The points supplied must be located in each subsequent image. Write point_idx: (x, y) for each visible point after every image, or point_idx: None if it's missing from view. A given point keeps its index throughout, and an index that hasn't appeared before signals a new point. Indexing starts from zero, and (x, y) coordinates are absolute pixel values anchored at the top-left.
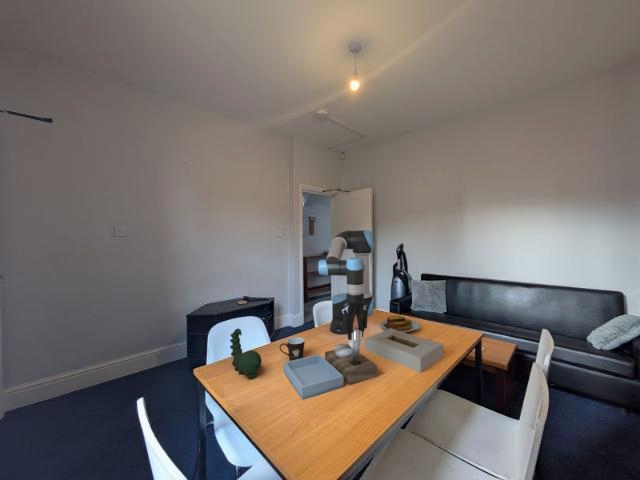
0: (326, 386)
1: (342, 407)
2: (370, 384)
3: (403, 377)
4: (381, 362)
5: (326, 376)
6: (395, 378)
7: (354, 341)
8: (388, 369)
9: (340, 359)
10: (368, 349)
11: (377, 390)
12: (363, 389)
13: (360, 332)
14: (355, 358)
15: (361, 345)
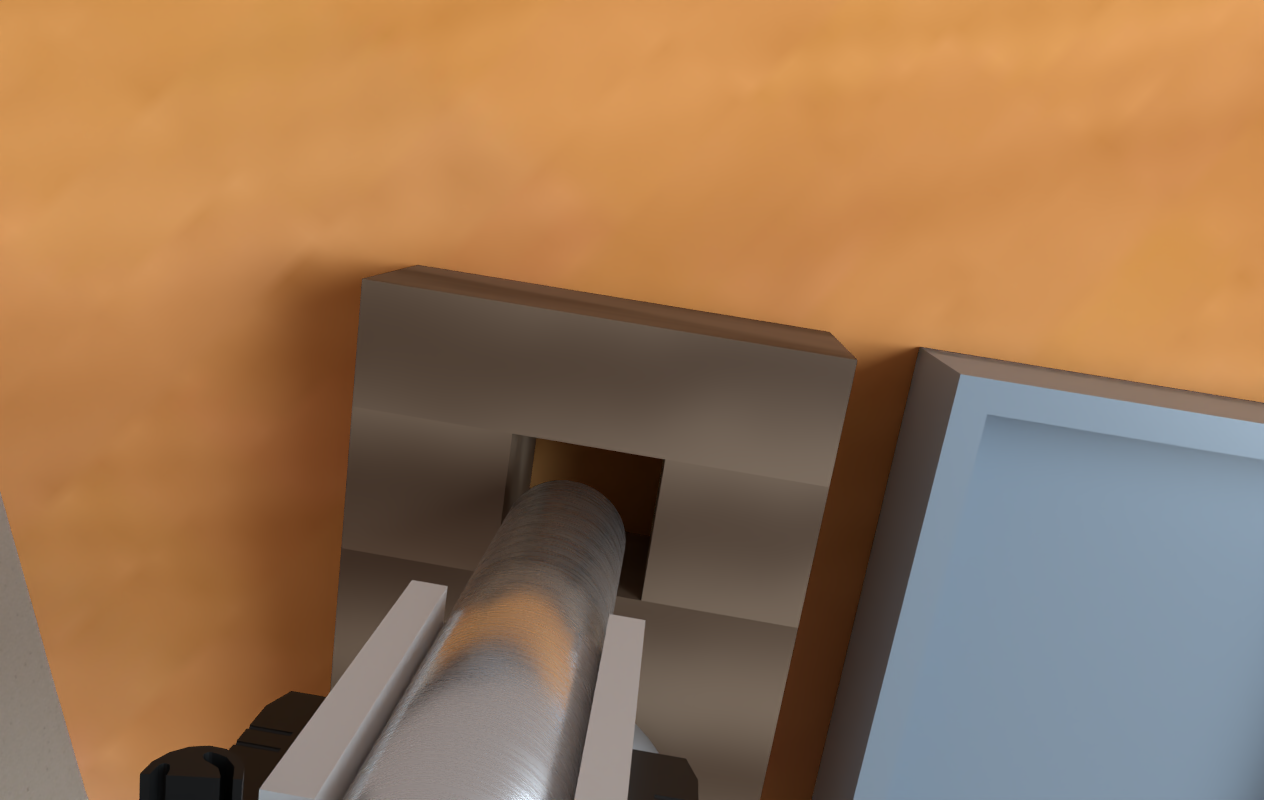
0: (1193, 402)
1: (1225, 42)
2: (608, 192)
3: (140, 48)
4: (127, 473)
5: (962, 611)
6: (245, 96)
7: (573, 689)
8: (169, 301)
9: (688, 717)
10: (61, 779)
11: (633, 42)
12: (758, 165)
13: (327, 776)
14: (601, 521)
15: (422, 585)
